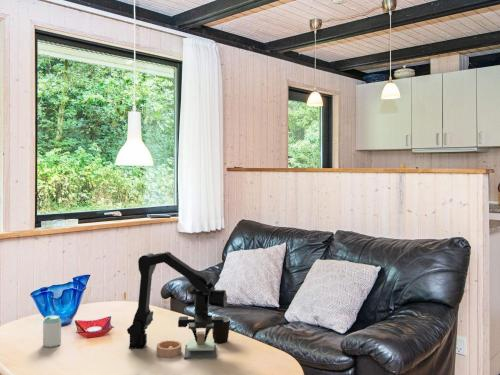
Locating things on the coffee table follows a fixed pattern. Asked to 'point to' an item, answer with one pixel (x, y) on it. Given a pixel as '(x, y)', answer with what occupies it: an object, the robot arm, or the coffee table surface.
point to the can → (52, 331)
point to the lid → (200, 343)
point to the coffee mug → (221, 332)
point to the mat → (200, 354)
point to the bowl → (169, 349)
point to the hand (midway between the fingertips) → (200, 342)
